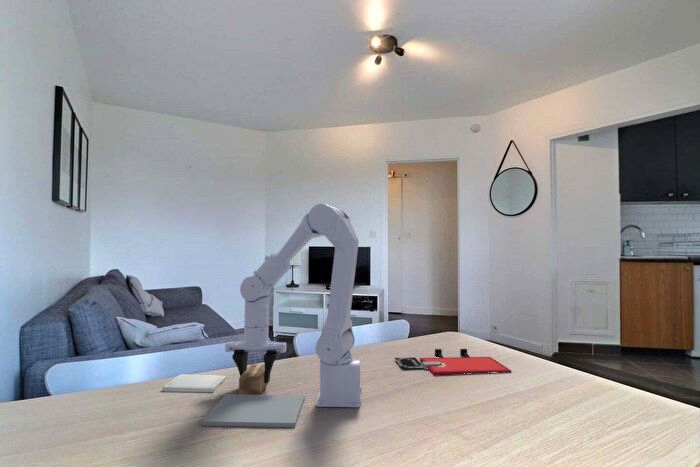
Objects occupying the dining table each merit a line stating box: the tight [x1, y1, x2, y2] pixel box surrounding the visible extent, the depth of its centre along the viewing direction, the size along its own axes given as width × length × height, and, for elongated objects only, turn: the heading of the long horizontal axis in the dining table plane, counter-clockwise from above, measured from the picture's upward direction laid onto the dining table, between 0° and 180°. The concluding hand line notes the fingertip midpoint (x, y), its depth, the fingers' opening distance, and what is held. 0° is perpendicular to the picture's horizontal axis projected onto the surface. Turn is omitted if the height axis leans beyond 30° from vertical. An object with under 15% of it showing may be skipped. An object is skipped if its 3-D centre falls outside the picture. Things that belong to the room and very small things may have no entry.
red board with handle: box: [394, 348, 512, 376], centre depth 100 cm, size 30×3×15 cm
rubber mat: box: [201, 393, 306, 428], centre depth 71 cm, size 18×12×1 cm, turn 89°
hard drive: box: [162, 373, 228, 393], centre depth 84 cm, size 2×8×12 cm
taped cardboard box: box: [238, 364, 271, 395], centre depth 83 cm, size 5×9×4 cm, turn 179°
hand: (255, 381), depth 83 cm, fingers closed on taped cardboard box, 5 cm apart
